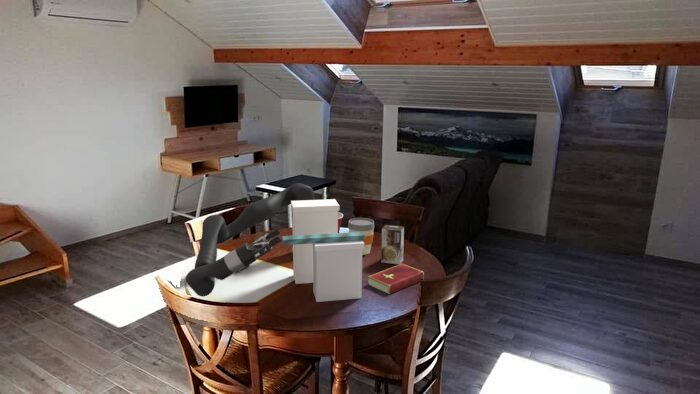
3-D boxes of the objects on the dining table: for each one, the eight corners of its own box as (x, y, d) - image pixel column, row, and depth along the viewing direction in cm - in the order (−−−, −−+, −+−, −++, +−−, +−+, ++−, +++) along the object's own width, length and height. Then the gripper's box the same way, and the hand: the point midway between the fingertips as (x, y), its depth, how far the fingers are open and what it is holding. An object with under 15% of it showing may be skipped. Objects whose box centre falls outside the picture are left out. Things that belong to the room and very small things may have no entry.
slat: (283, 245, 168) (283, 239, 167) (282, 241, 172) (282, 236, 171) (364, 240, 174) (364, 235, 174) (362, 237, 178) (362, 232, 177)
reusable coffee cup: (360, 245, 233) (361, 216, 230) (379, 251, 225) (380, 221, 221) (342, 251, 225) (342, 221, 221) (360, 258, 216) (361, 227, 213)
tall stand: (294, 284, 188) (293, 207, 180) (292, 274, 197) (290, 200, 189) (338, 281, 191) (339, 205, 184) (334, 271, 201) (334, 199, 193)
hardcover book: (423, 280, 194) (424, 271, 193) (389, 295, 180) (389, 285, 179) (401, 272, 203) (402, 262, 202) (367, 285, 189) (367, 275, 188)
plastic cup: (320, 239, 241) (320, 216, 238) (324, 232, 252) (324, 211, 249) (341, 240, 239) (341, 218, 237) (344, 234, 250) (345, 212, 247)
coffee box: (403, 260, 215) (405, 226, 211) (400, 265, 209) (401, 230, 205) (384, 257, 218) (385, 224, 214) (380, 262, 212) (381, 228, 208)
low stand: (315, 302, 173) (315, 246, 167) (311, 291, 182) (311, 237, 177) (363, 298, 176) (364, 243, 171) (357, 287, 186) (358, 234, 181)
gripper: (233, 257, 160) (275, 232, 161) (234, 243, 173) (272, 220, 174) (245, 274, 162) (286, 249, 163) (246, 258, 176) (283, 236, 177)
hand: (279, 234), depth 169 cm, fingers open, 8 cm apart
